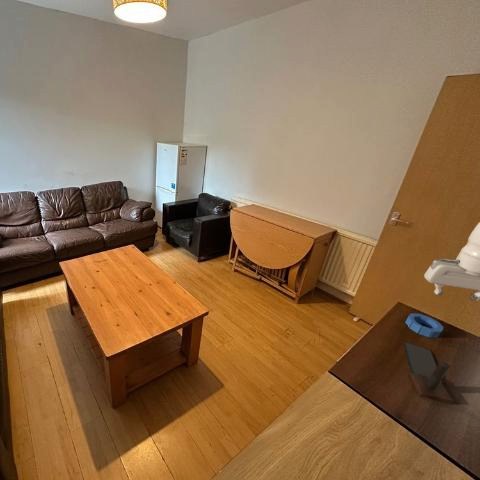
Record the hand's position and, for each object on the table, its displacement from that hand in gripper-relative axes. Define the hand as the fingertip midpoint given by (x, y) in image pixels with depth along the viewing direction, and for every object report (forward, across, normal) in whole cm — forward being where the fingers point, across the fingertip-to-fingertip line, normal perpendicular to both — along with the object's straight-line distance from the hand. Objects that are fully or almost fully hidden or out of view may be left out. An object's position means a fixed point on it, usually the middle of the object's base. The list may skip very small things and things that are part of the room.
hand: (455, 296), depth 88 cm
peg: (+15, -15, -30) cm, 37 cm away
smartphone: (+16, -12, -19) cm, 28 cm away
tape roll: (+15, -4, -1) cm, 16 cm away
